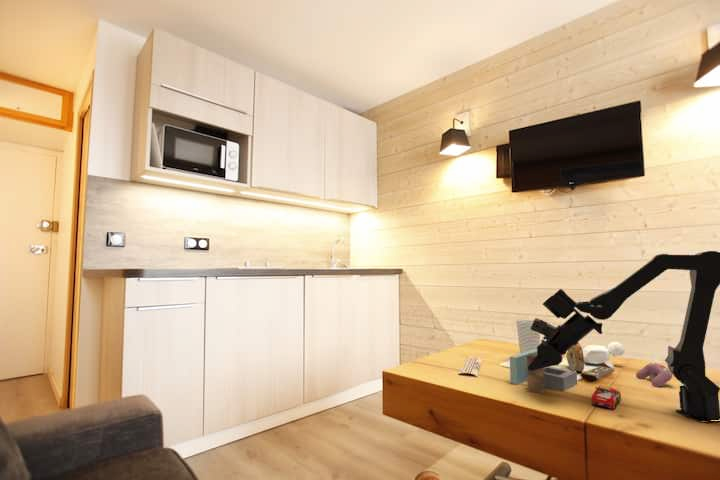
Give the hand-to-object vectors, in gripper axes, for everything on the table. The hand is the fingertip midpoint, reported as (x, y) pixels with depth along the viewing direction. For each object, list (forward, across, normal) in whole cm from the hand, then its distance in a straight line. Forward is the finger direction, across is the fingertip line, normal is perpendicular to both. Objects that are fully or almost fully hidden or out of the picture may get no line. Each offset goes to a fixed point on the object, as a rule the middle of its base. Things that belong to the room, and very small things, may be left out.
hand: (530, 366), depth 104 cm
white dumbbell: (-8, -45, +18) cm, 49 cm away
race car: (-8, 0, +18) cm, 20 cm away
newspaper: (+20, -16, -9) cm, 27 cm away
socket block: (+1, -10, +8) cm, 13 cm away
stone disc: (-3, -31, +12) cm, 33 cm away
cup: (+8, -34, +2) cm, 35 cm away
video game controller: (-17, -28, +27) cm, 43 cm away
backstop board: (+6, -12, +3) cm, 14 cm away
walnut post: (+4, 0, +6) cm, 7 cm away
